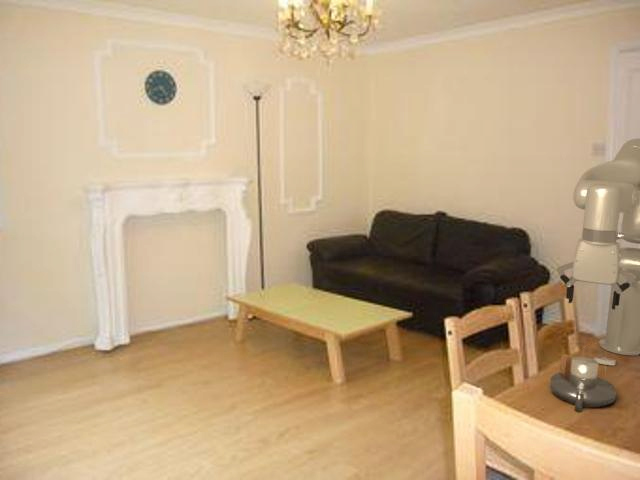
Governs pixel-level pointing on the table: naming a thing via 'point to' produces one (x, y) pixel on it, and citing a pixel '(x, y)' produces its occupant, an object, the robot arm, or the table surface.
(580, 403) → the dial pointer
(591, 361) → the cover
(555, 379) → the turntable
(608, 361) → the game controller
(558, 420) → the table surface
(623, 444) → the table surface
